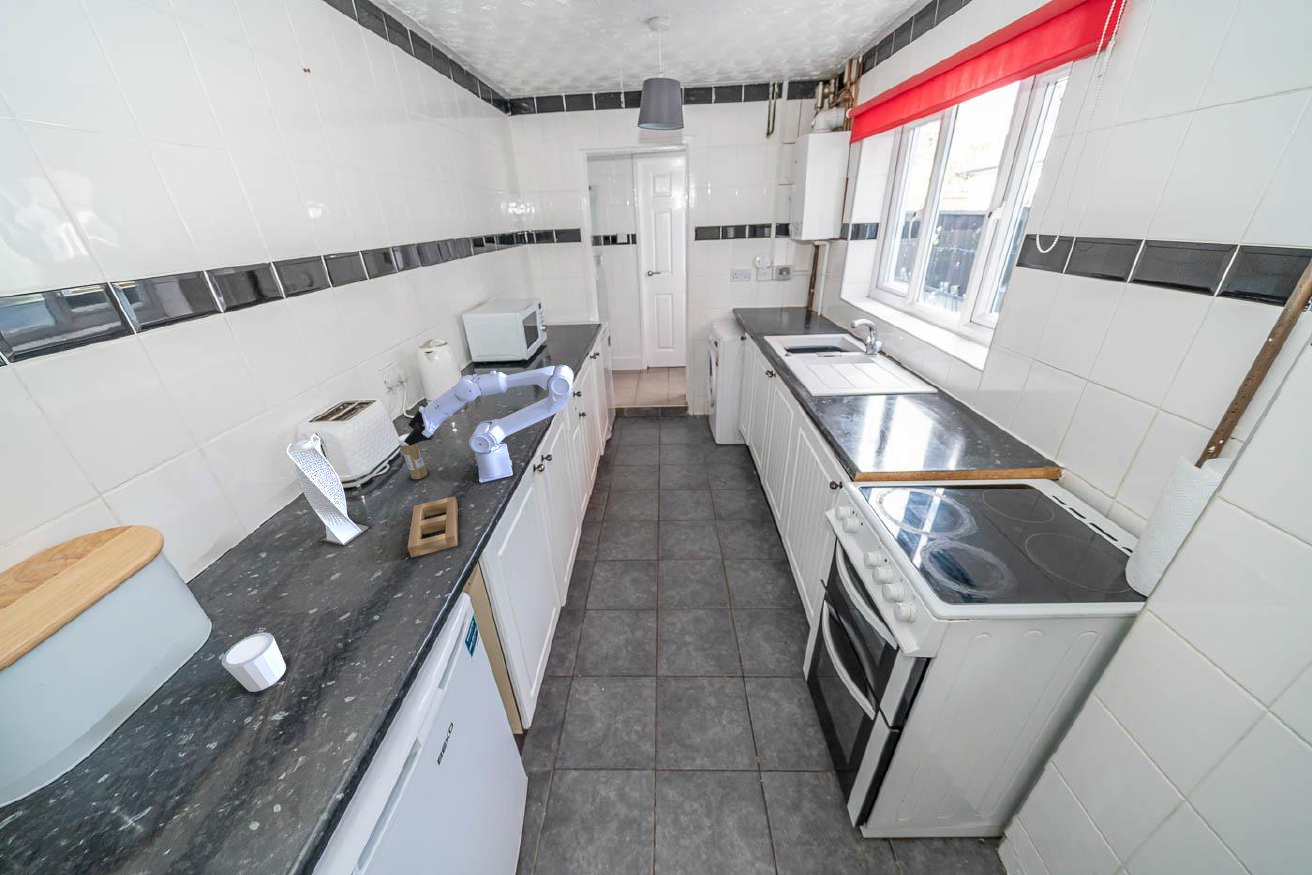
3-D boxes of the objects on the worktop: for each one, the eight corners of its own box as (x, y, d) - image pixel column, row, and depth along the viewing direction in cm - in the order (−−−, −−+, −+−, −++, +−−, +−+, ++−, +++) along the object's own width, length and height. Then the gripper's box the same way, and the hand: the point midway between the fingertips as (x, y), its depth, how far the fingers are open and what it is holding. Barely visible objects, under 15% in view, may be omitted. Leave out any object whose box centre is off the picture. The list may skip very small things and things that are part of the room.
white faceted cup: (259, 660, 81) (241, 633, 78) (299, 656, 81) (282, 629, 78) (230, 697, 75) (209, 670, 72) (273, 693, 75) (254, 665, 72)
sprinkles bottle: (428, 476, 136) (415, 436, 130) (412, 481, 134) (398, 441, 128) (426, 470, 140) (413, 431, 134) (410, 475, 138) (396, 435, 132)
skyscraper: (373, 528, 115) (331, 429, 102) (344, 549, 108) (295, 446, 95) (348, 523, 117) (305, 425, 104) (319, 543, 110) (268, 441, 98)
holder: (457, 505, 122) (454, 496, 121) (457, 545, 107) (454, 535, 106) (417, 514, 119) (414, 505, 118) (411, 557, 104) (407, 547, 103)
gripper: (434, 384, 128) (400, 411, 130) (429, 413, 117) (392, 442, 119) (455, 399, 132) (421, 425, 135) (451, 428, 122) (415, 457, 124)
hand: (409, 434), depth 127 cm, fingers open, 7 cm apart
